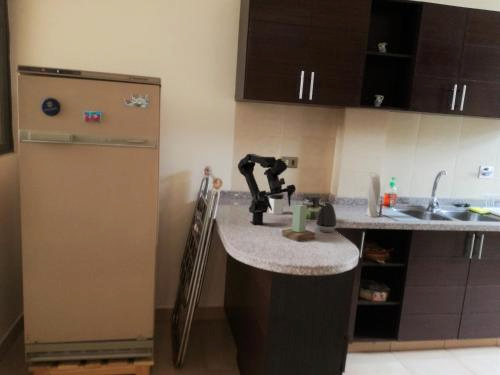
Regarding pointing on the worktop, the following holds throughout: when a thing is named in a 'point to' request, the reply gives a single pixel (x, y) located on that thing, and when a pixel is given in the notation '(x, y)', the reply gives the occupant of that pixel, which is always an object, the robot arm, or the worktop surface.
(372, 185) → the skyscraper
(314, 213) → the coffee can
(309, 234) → the walnut riser
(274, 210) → the jar
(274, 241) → the worktop surface
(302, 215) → the green block
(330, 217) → the dark rounded piece
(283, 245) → the worktop surface
